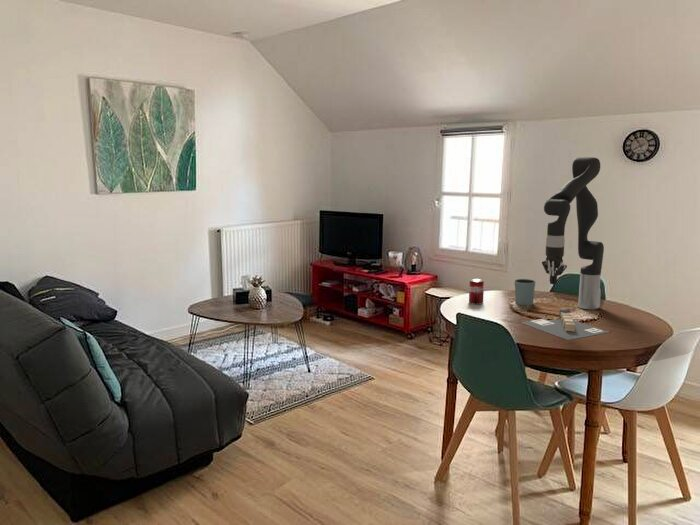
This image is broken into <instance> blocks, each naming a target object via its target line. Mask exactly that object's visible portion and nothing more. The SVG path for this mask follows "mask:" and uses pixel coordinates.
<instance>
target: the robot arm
mask: <svg viewBox="0 0 700 525" xmlns="http://www.w3.org/2000/svg"><path fill="white" fill-rule="evenodd" d="M571 165H572V167H571V169H572V177H573V178H572V179H570V180H569V181H567V182H566V183H565V184H563V186H562V187H561V188H560V189H559V191H558V192H557V193H555V194H554V195H552V196H550V197H549V198H548V199H547V200H546V202H545V203H544V206H543V211H544V213H545V215H547V216H552V217H553V216H555V217H557V219H556V220H553V221H549V222H548V223H547V228H546V229H547V232H546V233H547V234H546V238H545V239H546V241H545V256H546V258H545V260H543V261H541V265H542V267H543V269H544V271H545V273H546V274H547V275H549V283H550V285H556V284H557V282H558V276H561V275H562V274H563V272H564V271H565V270H567V268H568V266H567V264H564V260H563V257H564V256H565V242H566V240H565V232H566V231H565V228H566V223H567V220H568V217H569V215H570V211H571V203H572V202H573V201H574V200H575V201H576V202H575V206H576V207H575V208H576V218H577V219H576V221H577V229H578V230H577V232H578V233H577V234H578V235H577V240H578V242H577V251H578V253H577V255H578V257H579V258H580V259H581V260H587V261H588V260H589V261H592V263H591V264H589V265H583V266H582V267H580V272H579V289H578V302H577V303H578V304H577V307H578V308H580V309H582V310H583V309H584V310H597V309H598V310H599V309H600V308H601V297H602V295H601V293H602V289H601V288H600V287H601V274H602V268H603V267H602V266H603V260H604V251H605V250H604V249H605V248H604V246H605V245H604V244H603V242H601V241H596V240H595V241H594V240H589V239H588V234H589V232H590V230H591V228H592V227H593V225H594V224H595V223H596V221H597V219H598V217H599V209H598V202H597V200H596V198H595V196H594V194H593V193H592V192H591V190H589V188H588V184H590V183H591V181H593V180H594V179H595V178H596V177H597V176H598V175H599V173H600V170H601V162H600V159H599V158H597V157H588V156H587V157H576V158H574V159H573V162H572V164H571Z"/></svg>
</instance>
